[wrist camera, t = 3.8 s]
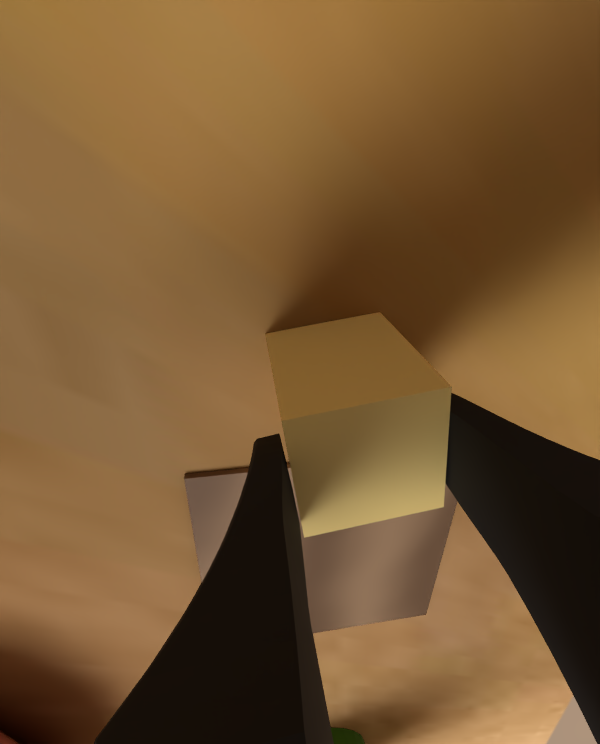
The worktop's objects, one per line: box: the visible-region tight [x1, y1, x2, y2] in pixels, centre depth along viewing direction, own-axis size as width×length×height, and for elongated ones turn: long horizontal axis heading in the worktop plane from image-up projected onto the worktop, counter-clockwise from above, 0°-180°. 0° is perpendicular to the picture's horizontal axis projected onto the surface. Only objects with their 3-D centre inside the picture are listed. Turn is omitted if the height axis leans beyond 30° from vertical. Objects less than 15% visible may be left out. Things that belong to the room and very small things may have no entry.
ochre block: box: [265, 312, 452, 538], centre depth 13 cm, size 4×4×6 cm
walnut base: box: [184, 464, 457, 633], centre depth 20 cm, size 12×12×1 cm
